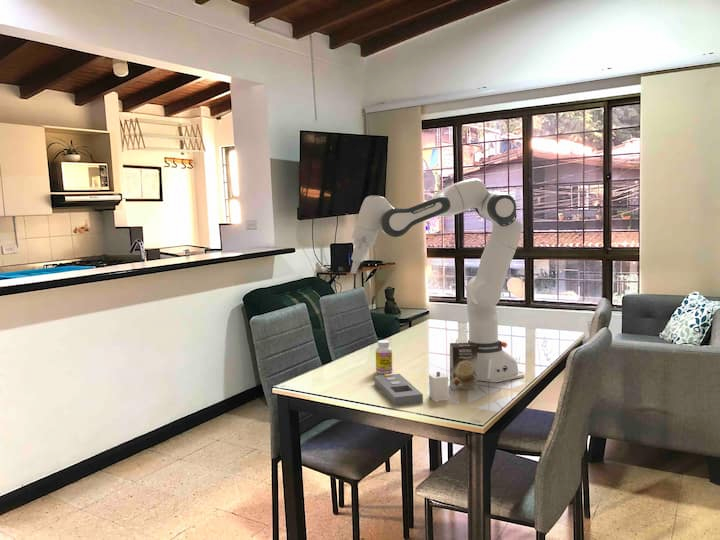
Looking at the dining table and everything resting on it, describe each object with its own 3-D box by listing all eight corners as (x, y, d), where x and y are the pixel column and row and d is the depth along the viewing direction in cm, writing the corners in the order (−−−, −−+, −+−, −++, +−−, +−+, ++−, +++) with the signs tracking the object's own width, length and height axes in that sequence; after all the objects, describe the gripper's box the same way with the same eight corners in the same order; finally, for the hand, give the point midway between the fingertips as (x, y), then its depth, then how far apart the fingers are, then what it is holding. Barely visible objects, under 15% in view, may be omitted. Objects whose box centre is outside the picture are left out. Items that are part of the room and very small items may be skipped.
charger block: (442, 394, 203) (442, 369, 202) (448, 399, 198) (447, 373, 197) (429, 396, 202) (428, 371, 201) (434, 400, 197) (434, 374, 196)
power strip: (399, 381, 220) (399, 372, 220) (422, 402, 195) (422, 392, 195) (374, 383, 218) (374, 374, 218) (394, 405, 193) (394, 395, 193)
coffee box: (452, 390, 207) (452, 347, 206) (449, 385, 214) (448, 343, 212) (478, 389, 208) (477, 346, 206) (473, 383, 214) (473, 342, 212)
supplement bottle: (378, 375, 229) (377, 343, 228) (374, 370, 236) (373, 340, 234) (394, 373, 231) (393, 342, 230) (389, 369, 238) (388, 338, 236)
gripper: (371, 238, 201) (360, 276, 202) (373, 240, 222) (362, 274, 222) (354, 233, 202) (343, 271, 202) (357, 236, 222) (347, 270, 222)
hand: (353, 273), depth 212 cm, fingers open, 8 cm apart
